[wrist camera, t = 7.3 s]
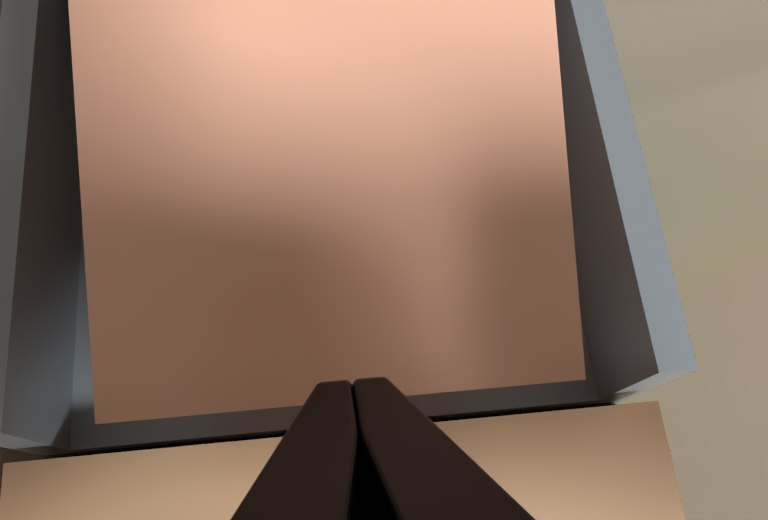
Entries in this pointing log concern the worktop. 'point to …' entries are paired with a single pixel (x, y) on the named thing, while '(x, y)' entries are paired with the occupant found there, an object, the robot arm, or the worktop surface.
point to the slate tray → (80, 433)
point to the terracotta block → (321, 199)
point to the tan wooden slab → (474, 436)
